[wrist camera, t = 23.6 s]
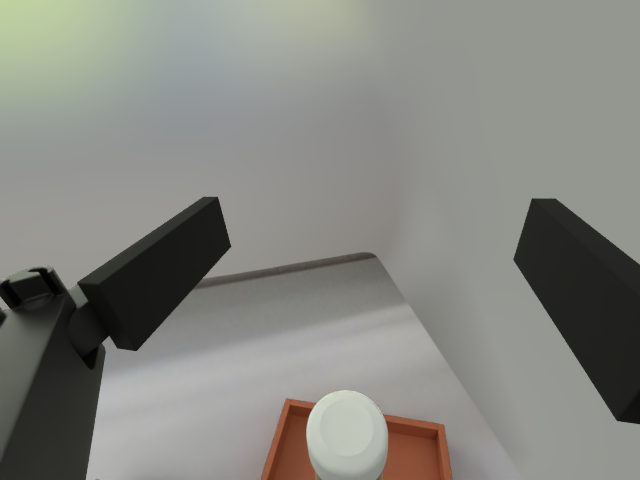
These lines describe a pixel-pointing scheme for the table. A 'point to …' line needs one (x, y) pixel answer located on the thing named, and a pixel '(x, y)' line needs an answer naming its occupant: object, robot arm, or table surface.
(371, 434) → the spice jar
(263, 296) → the table surface
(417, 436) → the tray
